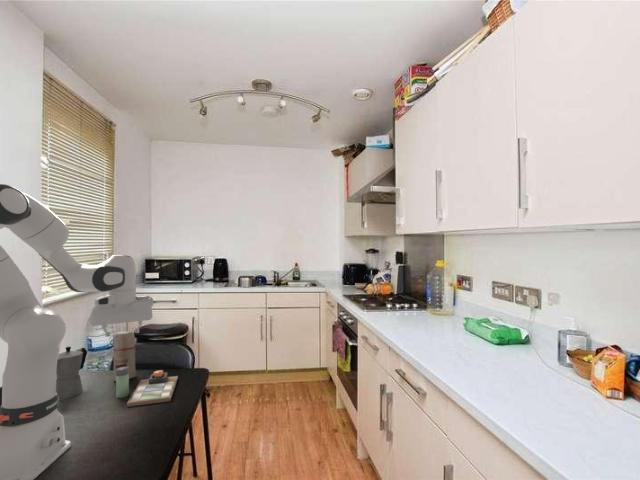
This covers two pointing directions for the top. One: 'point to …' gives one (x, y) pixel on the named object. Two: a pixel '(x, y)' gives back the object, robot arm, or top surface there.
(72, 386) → the coffeepot
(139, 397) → the checkered tray
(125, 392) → the green capped bottle
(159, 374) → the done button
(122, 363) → the tan paper carton
